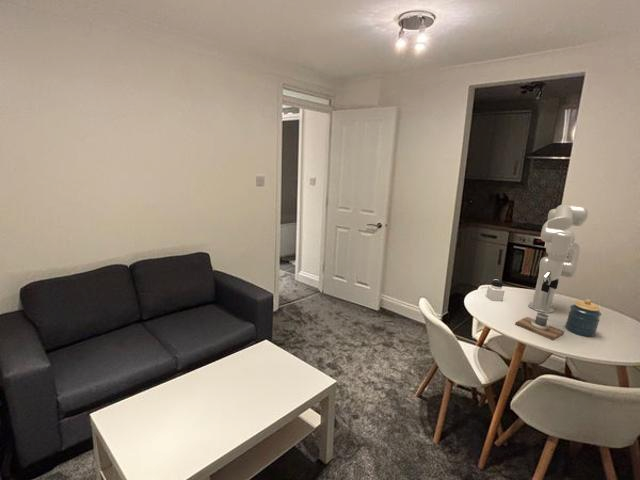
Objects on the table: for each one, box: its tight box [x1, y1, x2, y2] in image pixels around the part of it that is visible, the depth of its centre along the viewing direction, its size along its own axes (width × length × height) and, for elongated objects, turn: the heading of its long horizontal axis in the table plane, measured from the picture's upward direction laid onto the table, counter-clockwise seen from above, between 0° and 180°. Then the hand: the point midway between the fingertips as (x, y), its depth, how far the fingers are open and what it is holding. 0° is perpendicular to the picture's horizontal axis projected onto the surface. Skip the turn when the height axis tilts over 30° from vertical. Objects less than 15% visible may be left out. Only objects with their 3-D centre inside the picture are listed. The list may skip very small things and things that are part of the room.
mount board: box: [515, 316, 565, 341], centre depth 181 cm, size 13×18×3 cm
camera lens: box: [534, 312, 549, 326], centre depth 180 cm, size 5×5×5 cm
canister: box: [565, 298, 602, 338], centre depth 181 cm, size 13×13×18 cm
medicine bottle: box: [485, 279, 505, 302], centre depth 217 cm, size 7×7×12 cm
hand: (548, 289), depth 176 cm, fingers open, 9 cm apart
